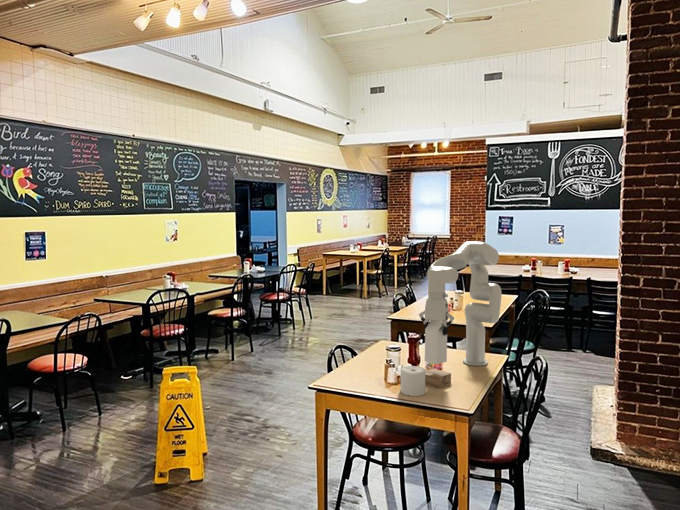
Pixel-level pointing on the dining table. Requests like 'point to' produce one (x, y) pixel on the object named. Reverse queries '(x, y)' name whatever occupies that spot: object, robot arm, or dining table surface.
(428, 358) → the milk carton
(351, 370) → the dining table surface
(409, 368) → the toilet tissue
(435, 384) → the walnut block
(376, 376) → the dining table surface
